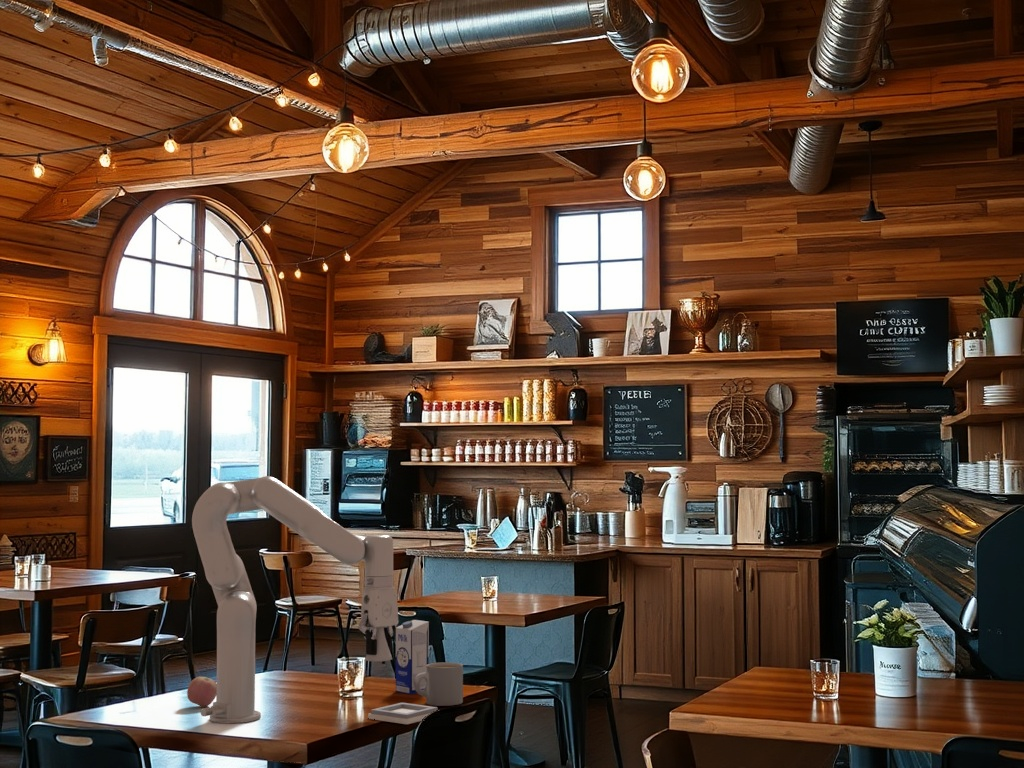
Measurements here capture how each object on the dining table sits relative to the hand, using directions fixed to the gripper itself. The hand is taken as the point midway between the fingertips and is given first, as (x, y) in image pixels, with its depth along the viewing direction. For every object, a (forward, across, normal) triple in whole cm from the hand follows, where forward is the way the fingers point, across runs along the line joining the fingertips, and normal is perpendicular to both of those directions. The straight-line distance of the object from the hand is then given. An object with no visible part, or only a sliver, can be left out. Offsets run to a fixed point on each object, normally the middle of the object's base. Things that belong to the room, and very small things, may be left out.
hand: (378, 652), depth 312 cm
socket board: (+16, 0, -9) cm, 18 cm away
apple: (+16, -19, +46) cm, 52 cm away
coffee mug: (+16, +21, -3) cm, 26 cm away
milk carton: (+16, +30, +14) cm, 37 cm away
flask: (+2, 0, 0) cm, 2 cm away
